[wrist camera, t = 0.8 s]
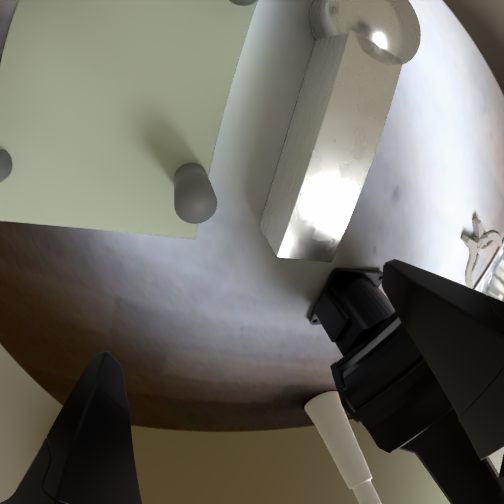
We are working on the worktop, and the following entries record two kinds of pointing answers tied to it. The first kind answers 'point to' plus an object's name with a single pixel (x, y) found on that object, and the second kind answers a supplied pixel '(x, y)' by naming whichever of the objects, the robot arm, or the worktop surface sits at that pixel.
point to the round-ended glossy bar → (337, 122)
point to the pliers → (477, 246)
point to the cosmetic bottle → (342, 444)
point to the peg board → (116, 111)
